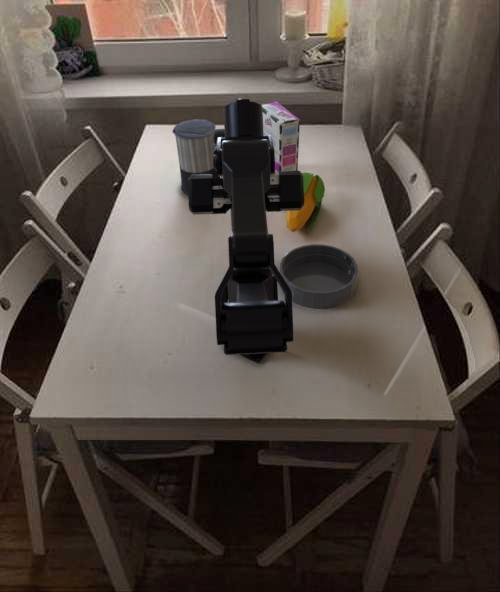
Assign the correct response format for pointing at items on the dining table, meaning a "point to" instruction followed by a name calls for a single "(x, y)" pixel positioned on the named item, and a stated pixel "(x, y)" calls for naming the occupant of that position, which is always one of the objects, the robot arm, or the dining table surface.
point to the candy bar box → (282, 136)
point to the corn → (307, 203)
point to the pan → (319, 275)
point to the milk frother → (196, 148)
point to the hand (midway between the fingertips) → (246, 204)
